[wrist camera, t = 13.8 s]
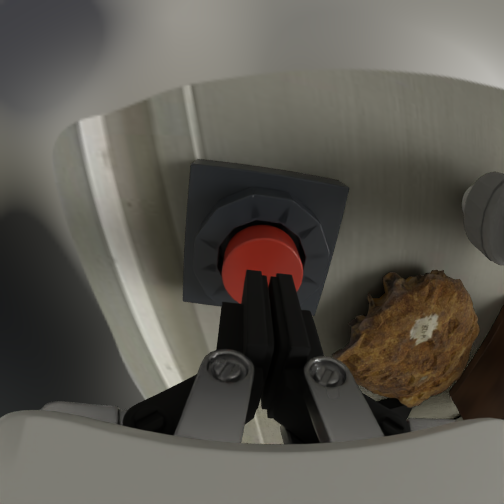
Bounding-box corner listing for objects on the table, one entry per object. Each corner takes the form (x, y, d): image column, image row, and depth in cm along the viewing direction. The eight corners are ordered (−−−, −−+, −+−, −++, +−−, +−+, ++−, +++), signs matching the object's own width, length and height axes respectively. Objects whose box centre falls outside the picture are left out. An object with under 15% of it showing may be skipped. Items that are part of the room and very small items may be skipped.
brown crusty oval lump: (479, 328, 22) (416, 229, 18) (501, 351, 18) (449, 251, 14) (397, 402, 25) (304, 340, 21) (411, 431, 21) (314, 378, 17)
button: (228, 219, 14) (226, 233, 12) (304, 229, 14) (311, 244, 12) (221, 285, 15) (218, 305, 14) (289, 293, 15) (294, 313, 14)
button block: (197, 158, 15) (183, 168, 12) (339, 180, 16) (360, 195, 13) (187, 285, 19) (176, 318, 16) (309, 299, 19) (319, 333, 16)
